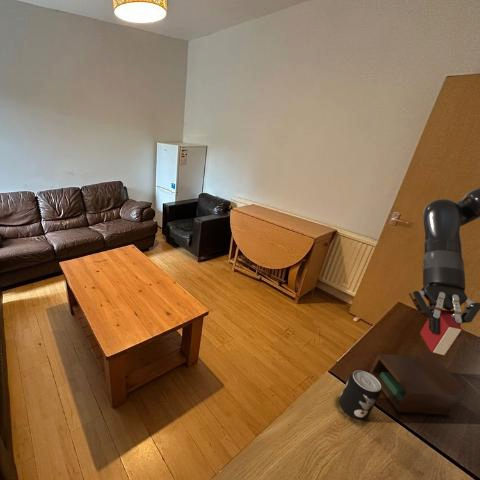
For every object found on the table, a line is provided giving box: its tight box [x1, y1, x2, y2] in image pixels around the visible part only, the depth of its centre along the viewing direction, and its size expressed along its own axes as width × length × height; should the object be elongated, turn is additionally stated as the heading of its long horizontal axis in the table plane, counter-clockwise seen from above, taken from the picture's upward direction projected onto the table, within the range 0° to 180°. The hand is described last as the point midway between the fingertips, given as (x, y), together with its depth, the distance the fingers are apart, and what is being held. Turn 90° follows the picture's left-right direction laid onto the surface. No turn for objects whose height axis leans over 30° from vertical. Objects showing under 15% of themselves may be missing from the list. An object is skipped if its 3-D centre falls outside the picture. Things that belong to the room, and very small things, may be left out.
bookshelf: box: [368, 348, 467, 416], centre depth 71 cm, size 12×12×11 cm
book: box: [419, 309, 463, 356], centre depth 65 cm, size 3×7×9 cm, turn 156°
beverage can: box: [338, 369, 382, 421], centre depth 67 cm, size 7×7×12 cm
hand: (444, 335), depth 64 cm, fingers closed on book, 2 cm apart
